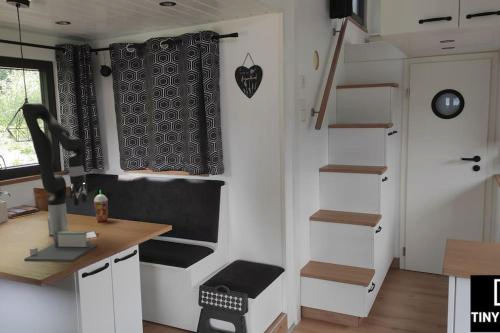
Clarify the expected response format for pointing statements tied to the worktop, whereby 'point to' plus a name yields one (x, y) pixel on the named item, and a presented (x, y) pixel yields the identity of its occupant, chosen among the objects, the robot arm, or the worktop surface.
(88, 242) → the gate frame
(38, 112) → the robot arm
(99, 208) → the smoothie
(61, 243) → the gate
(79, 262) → the worktop surface
